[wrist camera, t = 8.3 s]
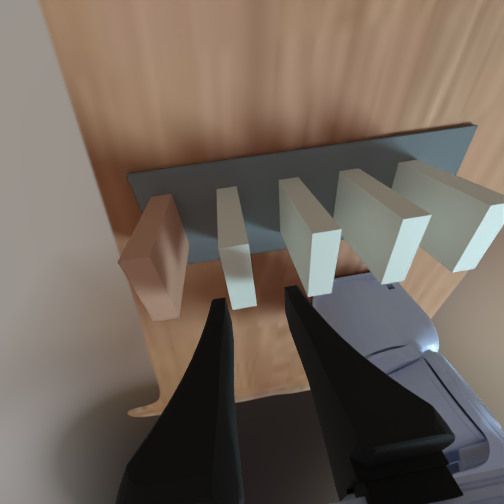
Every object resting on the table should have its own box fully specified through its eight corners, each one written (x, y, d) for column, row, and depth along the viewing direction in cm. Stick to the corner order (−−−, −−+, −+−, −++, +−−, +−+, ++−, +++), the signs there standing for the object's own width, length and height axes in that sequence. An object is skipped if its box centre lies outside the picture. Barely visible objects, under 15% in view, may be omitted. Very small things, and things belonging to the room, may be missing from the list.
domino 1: (236, 186, 18) (248, 243, 12) (243, 238, 21) (256, 305, 15) (216, 189, 18) (218, 248, 12) (226, 240, 21) (232, 309, 15)
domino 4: (417, 159, 19) (518, 201, 13) (399, 213, 22) (474, 268, 16) (398, 162, 19) (491, 205, 13) (383, 216, 22) (452, 272, 16)
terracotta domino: (171, 193, 18) (149, 256, 12) (189, 245, 21) (179, 317, 15) (151, 196, 18) (117, 262, 12) (171, 248, 21) (154, 321, 15)
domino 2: (298, 177, 19) (341, 229, 12) (297, 229, 22) (331, 292, 15) (278, 180, 19) (312, 233, 12) (280, 232, 22) (307, 297, 15)
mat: (473, 124, 18) (477, 125, 18) (430, 222, 24) (433, 224, 24) (127, 173, 17) (126, 175, 17) (166, 265, 23) (166, 267, 22)
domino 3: (358, 168, 19) (431, 214, 13) (349, 221, 22) (403, 280, 16) (339, 171, 19) (403, 219, 12) (332, 224, 22) (380, 284, 16)
